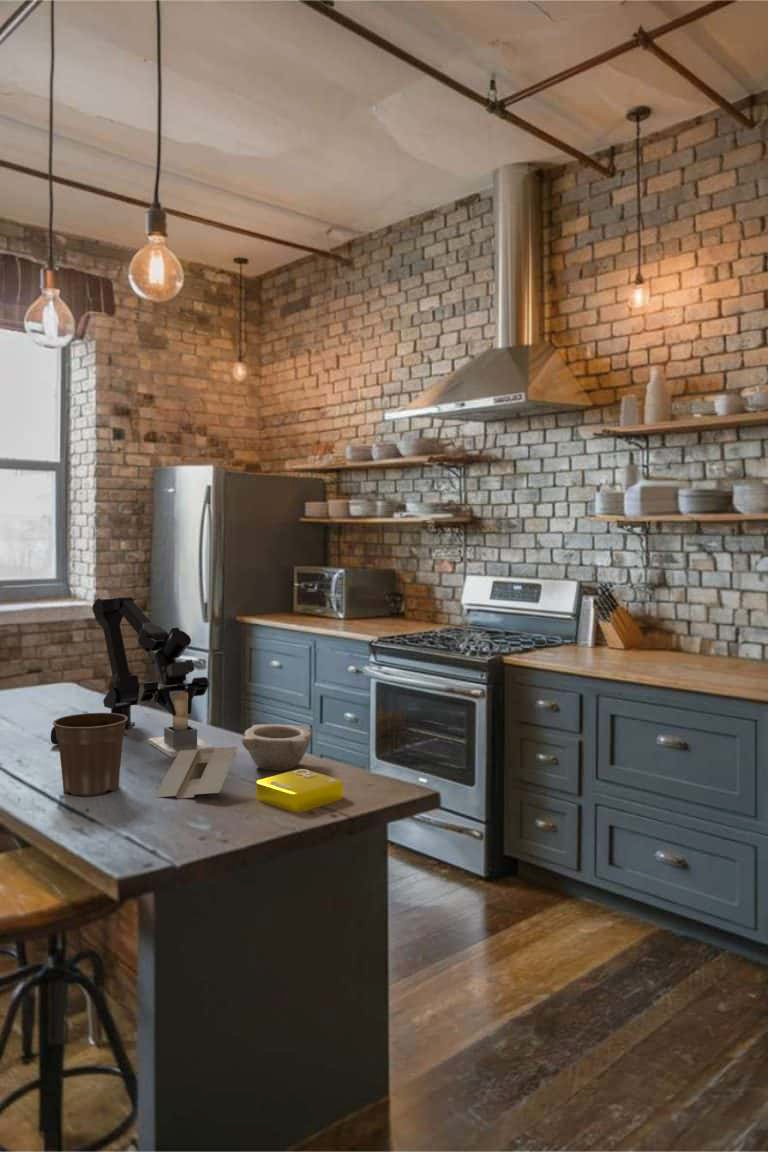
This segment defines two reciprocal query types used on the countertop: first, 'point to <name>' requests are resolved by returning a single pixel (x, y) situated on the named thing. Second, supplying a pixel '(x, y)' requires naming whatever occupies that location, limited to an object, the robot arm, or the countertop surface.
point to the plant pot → (90, 751)
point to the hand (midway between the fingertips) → (182, 714)
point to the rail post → (180, 711)
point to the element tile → (299, 790)
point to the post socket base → (180, 742)
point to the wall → (197, 773)
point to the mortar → (277, 745)
